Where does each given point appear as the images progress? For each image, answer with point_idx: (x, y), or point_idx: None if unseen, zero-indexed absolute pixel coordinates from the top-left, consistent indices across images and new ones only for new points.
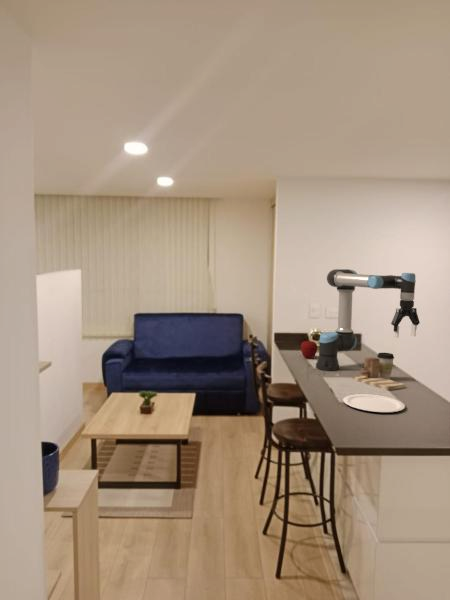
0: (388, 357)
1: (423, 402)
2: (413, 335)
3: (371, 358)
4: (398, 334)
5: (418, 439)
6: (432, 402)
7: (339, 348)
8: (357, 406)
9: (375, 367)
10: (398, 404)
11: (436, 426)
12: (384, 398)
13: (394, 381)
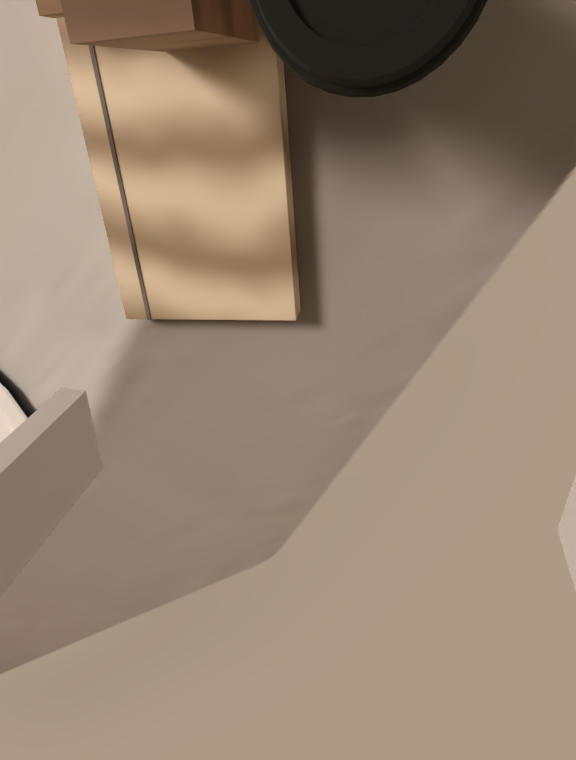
0: (311, 76)
1: (172, 516)
2: (566, 519)
3: None
4: (68, 506)
5: None
6: (213, 535)
7: None
8: None
9: (170, 42)
10: None
11: (31, 640)
12: (6, 420)
13: (279, 230)
